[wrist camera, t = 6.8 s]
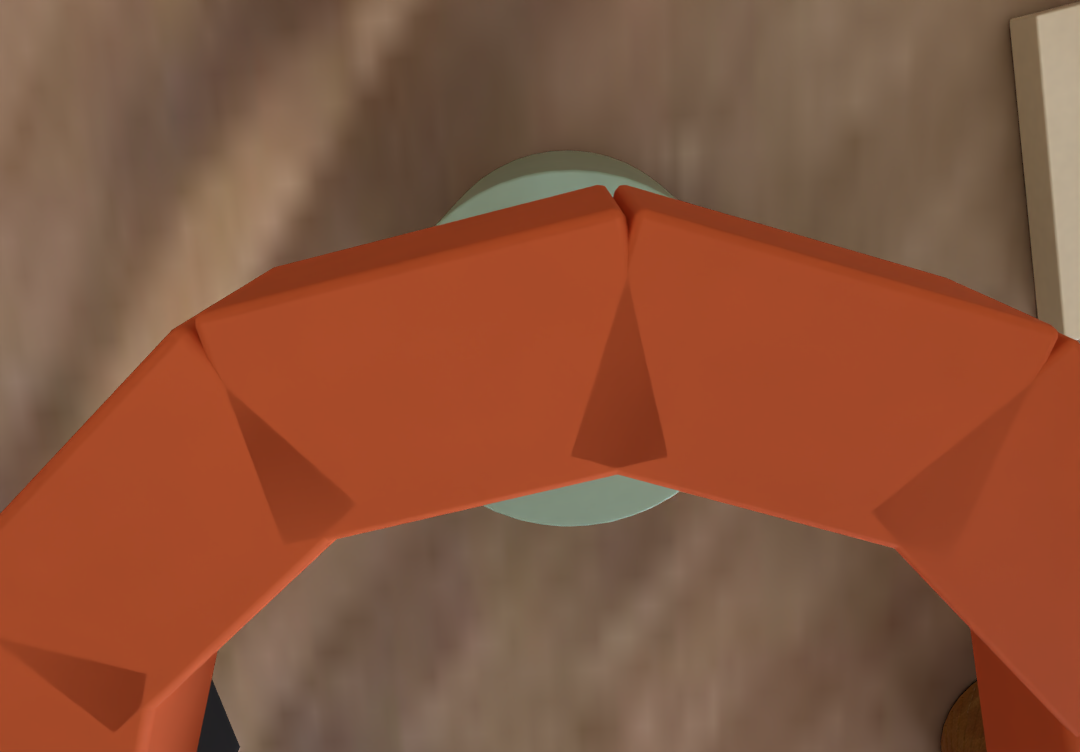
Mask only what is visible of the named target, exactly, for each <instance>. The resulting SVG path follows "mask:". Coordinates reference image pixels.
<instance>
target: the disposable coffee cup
mask: <svg viewBox="0 0 1080 752" xmlns="http://www.w3.org/2000/svg"><path fill="white" fill-rule="evenodd" d="M941 752H987V750H986V742H985V735H984V727H983V720H982V712H981V705H980V697H979V690H978V682H975V683H974V684H972V685H971V686H970V687H969V688H968V689H967V690H966V691H965V692H964V693H963V694H962V695H961V696H960V697H959V699H958V700H957V702H956V703H955V705H954V706H953V707H952V709H951V710H950V712H949V714H948V717H947V719H946V722H945V724H944V727H943V732H942V738H941Z"/></svg>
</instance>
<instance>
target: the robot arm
mask: <svg viewBox="0 0 1080 752" xmlns="http://www.w3.org/2000/svg"><path fill="white" fill-rule="evenodd" d="M239 748H240V746H239V744H238V741H237V739H236V736H235V734H234V731H233V729H232V727H231V724H230V722H229V719H228V717H227V715H226V712H225V710H224V707H223V705H222V703H221V700H220V698H219V695H218V693H217V690H216V688H215V686H214V683H213V681H212V680H211V685H210V690H209V694H208V699H207V704H206V709H205V714H204V719H203V723H202V728H201V733H200V738H199V743H198V748H197V752H238V750H239Z"/></svg>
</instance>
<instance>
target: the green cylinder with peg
mask: <svg viewBox="0 0 1080 752" xmlns="http://www.w3.org/2000/svg"><path fill="white" fill-rule="evenodd" d="M595 185H603V186H605V187H606V188H607V190H608V191H609V193H610V194H611V196H612V197H613V196H614V192H615V190H616V189H617V188H618V186H620V185H628V186H631V187H635V188H638V189H642V190H645V191H649V192H652V193H656V194H659V195H662V196H666V197H669V198H673V199H676V198H675V197H674V196H672V195H671V194H670V193H669V192H668V191H667V190H665V189H664V188H663V187H662V186H661V185H660V184H658V183H657V182H656V181H654V180H653V179H652V178H650V177H649V176H647V175H646V174H645V173H643V172H642V171H640V170H638V169H636V168H634V167H632V166H631V165H629V164H627V163H625V162H622V161H619V160H617V159H614V158H611V157H608V156H605V155H600V154H596V153H591V152H583V151H571V150H567V151H549V152H544V153H539V154H534V155H530V156H527V157H523V158H520V159H517V160H514V161H512V162H510V163H508V164H506V165H504V166H502V167H500V168H498V169H496V170H494V171H493V172H491V173H490V174H488V175H487V176H485V177H484V178H482V179H481V180H479V181H478V182H477V183H476V184H475V185H474V186H473V187H471V188H470V189H469V190H468V191H467V192H466V193H465V194H464V195H463V196H462V197H461V198H460V199H459V200H458V202H457V203H456V204H455V205H454V206H453V207H452V208H451V209H450V210H449V211H448V212H447V214H446V215H445V216H444V217H443V218H442V219H441V220H440V221H439V222H438V223H437V224H436V226H438V225H442V224H446V223H450V222H454V221H458V220H462V219H466V218H469V217H473V216H477V215H481V214H485V213H489V212H493V211H497V210H501V209H505V208H509V207H512V206H516V205H520V204H524V203H528V202H532V201H536V200H540V199H544V198H548V197H552V196H555V195H559V194H563V193H567V192H571V191H575V190H579V189H583V188H587V187H591V186H595ZM676 200H677V199H676ZM678 492H679V491H678V490H674V489H670V488H666V487H663V486H659V485H655V484H651V483H648V482H644V481H640V480H636V479H633V478H629V477H625V476H621V475H613V476H609V477H605V478H600V479H596V480H592V481H587V482H583V483H579V484H574V485H570V486H565V487H561V488H557V489H552V490H548V491H544V492H539V493H535V494H531V495H526V496H522V497H518V498H513V499H509V500H505V501H500V502H496V503H491V504H487V505H483V506H485V507H487V508H489V509H491V510H493V511H496V512H498V513H500V514H503V515H506V516H509V517H512V518H516V519H519V520H522V521H527V522H532V523H537V524H542V525H554V526H588V525H594V524H601V523H607V522H612V521H616V520H619V519H623V518H626V517H630V516H633V515H635V514H638V513H640V512H643V511H645V510H647V509H650V508H652V507H654V506H656V505H658V504H660V503H661V502H663V501H665V500H667V499H668V498H670V497H672V496H674V495H675V494H676V493H678Z"/></svg>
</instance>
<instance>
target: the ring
mask: <svg viewBox="0 0 1080 752" xmlns="http://www.w3.org/2000/svg"><path fill="white" fill-rule="evenodd" d="M613 475H621V476H625V477H629V478H633V479H636V480H640V481H644V482H648V483H651V484H655V485H659V486H663V487H666V488H670V489H674V490H678V491H681V492H685V493H689V494H693V495H696V496H700V497H704V498H708V499H711V500H715V501H719V502H723V503H726V504H730V505H734V506H738V507H741V508H745V509H749V510H753V511H756V512H760V513H764V514H768V515H771V516H775V517H779V518H783V519H786V520H790V521H794V522H798V523H801V524H805V525H809V526H813V527H816V528H820V529H824V530H828V531H831V532H835V533H839V534H843V535H846V536H850V537H854V538H858V539H861V540H865V541H869V542H872V543H876V544H880V545H884V546H887V547H891V548H894V549H895V550H896V551H897V552H898V553H899V554H900V555H901V556H902V557H903V558H904V559H905V560H906V561H907V562H908V563H909V564H910V565H911V566H912V567H913V569H914V570H915V571H916V572H917V573H918V574H919V575H920V576H921V577H922V578H923V579H924V580H925V581H926V582H927V583H928V584H929V585H930V586H931V587H932V588H933V590H934V591H935V592H936V593H937V594H938V595H939V596H940V597H941V598H942V599H943V600H944V601H945V602H946V603H947V604H948V605H949V606H950V607H951V608H952V609H953V611H954V612H955V613H956V614H957V615H958V616H959V617H960V618H961V619H962V620H963V621H964V622H965V623H966V624H967V625H968V626H969V627H970V630H971V638H972V645H973V652H974V660H975V667H976V675H977V682H978V690H979V697H980V705H981V712H982V720H983V727H984V735H985V742H986V750H987V752H1080V344H1079V342H1078V341H1077V340H1074V339H1072V338H1070V337H1068V336H1066V335H1063V334H1061V333H1059V332H1058V331H1057V330H1056V329H1055V328H1054V327H1053V326H1052V325H1050V324H1048V323H1046V322H1043V321H1041V320H1039V319H1037V318H1034V317H1032V316H1030V315H1028V314H1026V313H1023V312H1021V311H1019V310H1017V309H1014V308H1012V307H1010V306H1008V305H1005V304H1003V303H1001V302H999V301H996V300H994V299H992V298H990V297H988V296H985V295H983V294H981V293H979V292H976V291H974V290H972V289H970V288H967V287H965V286H963V285H961V284H958V283H956V282H954V281H952V280H950V279H947V278H945V277H941V276H938V275H934V274H931V273H927V272H924V271H921V270H917V269H914V268H910V267H907V266H903V265H900V264H896V263H893V262H890V261H886V260H883V259H879V258H876V257H872V256H869V255H866V254H862V253H859V252H855V251H852V250H848V249H845V248H841V247H838V246H835V245H831V244H828V243H824V242H821V241H817V240H814V239H810V238H807V237H804V236H800V235H797V234H793V233H790V232H786V231H783V230H779V229H776V228H773V227H769V226H766V225H762V224H759V223H755V222H752V221H748V220H745V219H742V218H738V217H735V216H731V215H728V214H724V213H721V212H718V211H714V210H711V209H707V208H704V207H700V206H697V205H693V204H690V203H687V202H683V201H680V200H676V199H673V198H669V197H666V196H662V195H659V194H656V193H652V192H649V191H645V190H642V189H638V188H635V187H631V186H628V185H620V186H618V188H617V189H616V190H615V192H614V196H613V197H612V196H611V194H610V193H609V191H608V190H607V188H606V187H605V186H603V185H595V186H591V187H587V188H583V189H579V190H575V191H571V192H567V193H563V194H559V195H555V196H552V197H548V198H544V199H540V200H536V201H532V202H528V203H524V204H520V205H516V206H512V207H509V208H505V209H501V210H497V211H493V212H489V213H485V214H481V215H477V216H473V217H469V218H466V219H462V220H458V221H454V222H450V223H446V224H442V225H438V226H434V227H430V228H426V229H423V230H419V231H415V232H411V233H407V234H403V235H399V236H395V237H391V238H387V239H383V240H380V241H376V242H372V243H368V244H364V245H360V246H356V247H352V248H348V249H344V250H340V251H336V252H333V253H329V254H325V255H321V256H317V257H313V258H309V259H305V260H301V261H297V262H293V263H290V264H286V265H282V266H278V267H274V268H272V269H271V270H269V271H267V272H266V273H264V274H262V275H261V276H259V277H258V278H256V279H254V280H253V281H251V282H249V283H248V284H246V285H244V286H243V287H241V288H240V289H238V290H236V291H235V292H233V293H231V294H230V295H228V296H226V297H225V298H223V299H222V300H220V301H218V302H217V303H215V304H213V305H212V306H210V307H208V308H207V309H205V310H204V311H202V312H200V313H199V314H197V315H196V316H194V317H192V318H191V319H189V320H187V321H186V322H184V323H182V324H181V325H179V326H178V327H176V328H174V329H173V330H172V331H171V332H170V333H169V334H168V335H167V336H166V337H165V338H164V339H163V340H162V341H161V342H160V343H159V344H158V346H157V347H156V348H155V349H154V350H153V351H152V352H151V353H150V354H149V355H148V356H147V357H146V358H145V359H144V361H143V362H142V363H141V364H140V365H139V366H138V367H137V368H136V369H135V370H134V371H133V372H132V373H131V374H130V375H129V377H128V378H127V379H126V380H125V381H124V382H123V383H122V384H121V385H120V386H119V387H118V388H117V389H116V390H115V391H114V393H113V394H112V395H111V396H110V397H109V398H108V399H107V400H106V401H105V402H104V403H103V404H102V405H101V406H100V408H99V409H98V410H97V411H96V412H95V413H94V414H93V415H92V416H91V417H90V418H89V419H88V420H87V421H86V422H85V424H84V425H83V426H82V427H81V428H80V429H79V430H78V431H77V432H76V433H75V434H74V435H73V436H72V437H71V439H70V440H69V441H68V442H67V443H66V444H65V445H64V446H63V447H62V448H61V449H60V450H59V451H58V452H57V453H56V455H55V456H54V457H53V458H52V459H51V460H50V461H49V462H48V463H47V464H46V465H45V466H44V467H43V468H42V469H41V471H40V472H39V473H38V474H37V475H36V476H35V477H34V478H33V479H32V480H31V481H30V482H29V483H28V484H27V486H26V487H25V488H24V489H23V490H22V491H21V492H20V493H19V494H18V495H17V496H16V497H15V498H14V499H13V500H12V502H11V503H10V504H9V505H8V506H7V507H6V508H5V509H4V510H3V511H2V512H1V513H0V752H197V748H198V743H199V738H200V733H201V728H202V723H203V719H204V714H205V709H206V704H207V699H208V694H209V690H210V685H211V680H212V675H213V670H214V665H215V660H216V656H217V651H218V650H219V649H220V648H221V647H222V646H223V645H224V644H225V643H226V642H227V641H228V640H229V639H230V638H232V637H233V636H234V635H235V634H236V633H237V632H238V631H239V630H240V629H241V628H242V627H243V626H244V625H245V624H246V623H248V622H249V621H250V620H251V619H252V618H253V617H254V616H255V615H256V614H257V613H258V612H259V611H260V610H261V609H262V608H264V607H265V606H266V605H267V604H268V603H269V602H270V601H271V600H272V599H273V598H274V597H275V596H276V595H277V594H278V593H280V592H281V591H282V590H283V589H284V588H285V587H286V586H287V585H288V584H289V583H290V582H291V581H292V580H293V579H294V578H296V577H297V576H298V575H299V574H300V573H301V572H302V571H303V570H304V569H305V568H306V567H307V566H308V565H309V564H310V563H312V562H313V561H314V560H315V559H316V558H317V557H318V556H319V555H320V554H321V553H322V552H323V551H324V550H325V549H326V548H328V547H329V546H330V545H331V544H332V543H333V542H334V541H335V540H336V539H339V538H343V537H348V536H352V535H356V534H361V533H365V532H370V531H374V530H378V529H383V528H387V527H391V526H396V525H400V524H404V523H409V522H413V521H417V520H422V519H426V518H430V517H435V516H439V515H444V514H448V513H452V512H457V511H461V510H465V509H470V508H474V507H478V506H483V505H487V504H491V503H496V502H500V501H505V500H509V499H513V498H518V497H522V496H526V495H531V494H535V493H539V492H544V491H548V490H552V489H557V488H561V487H565V486H570V485H574V484H579V483H583V482H587V481H592V480H596V479H600V478H605V477H609V476H613Z"/></svg>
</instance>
